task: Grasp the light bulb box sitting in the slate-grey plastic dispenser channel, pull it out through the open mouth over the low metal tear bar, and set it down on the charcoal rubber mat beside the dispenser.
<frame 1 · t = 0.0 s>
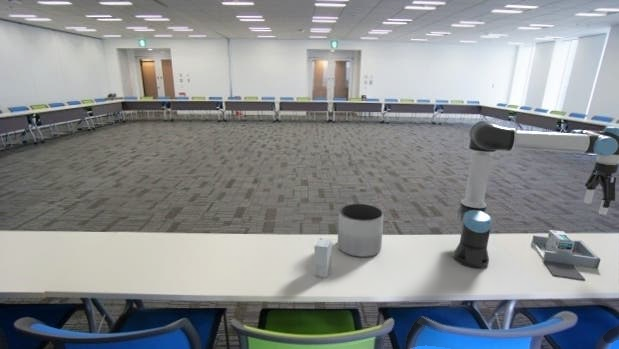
hand: (594, 208, 148), 28 cm above the table, fingers open, 13 cm apart
planter: (359, 248, 168), on the table
light bulb box: (556, 255, 163), resting in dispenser
skincare box: (322, 272, 147), on the table
mat: (563, 270, 149), on the table
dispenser: (561, 255, 162), on the table
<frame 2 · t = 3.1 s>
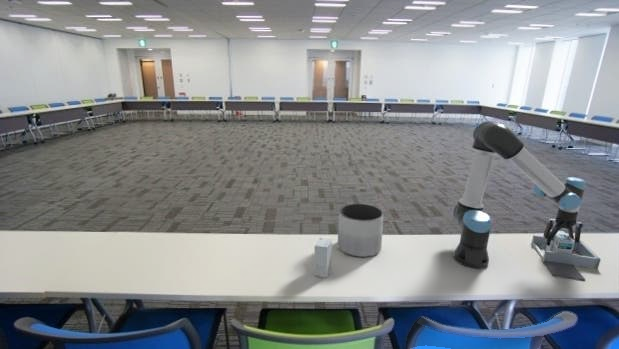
hand: (557, 252, 163), 1 cm above the table, fingers closed on light bulb box, 7 cm apart
light bulb box: (556, 254, 163), resting in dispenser, touching gripper
everything else where it was.
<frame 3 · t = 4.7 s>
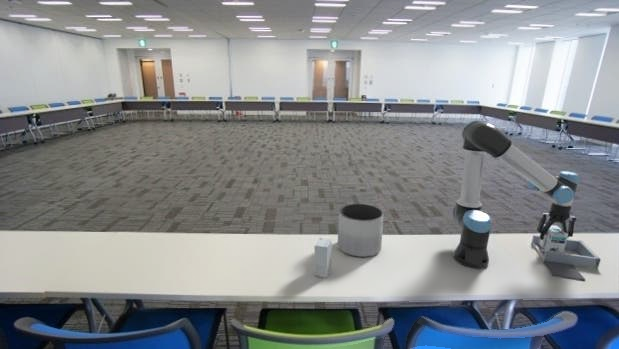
hand: (550, 246, 163), 4 cm above the table, fingers closed on light bulb box, 7 cm apart
light bulb box: (550, 249, 163), point 2 cm above the table, touching gripper
everything else where it was.
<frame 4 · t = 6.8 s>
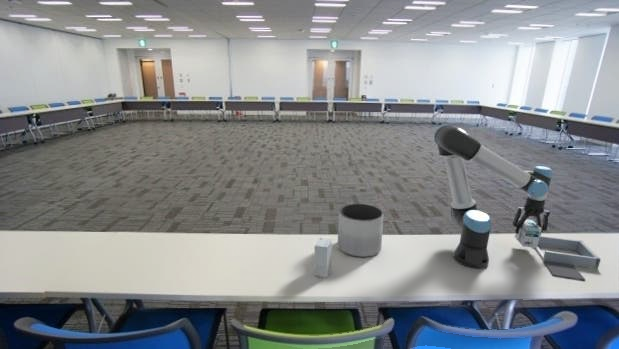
hand: (525, 240, 165), 5 cm above the table, fingers closed on light bulb box, 7 cm apart
light bulb box: (525, 242, 166), point 4 cm above the table, touching gripper
everything else where it was.
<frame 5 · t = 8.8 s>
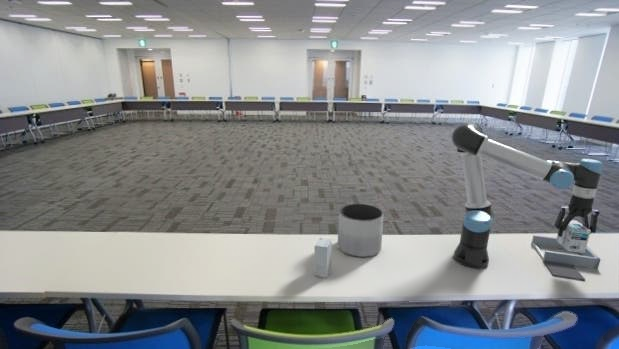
hand: (570, 244, 145), 14 cm above the table, fingers closed on light bulb box, 7 cm apart
light bulb box: (569, 246, 146), point 12 cm above the table, touching gripper
everything else where it was.
when the fingers open (3 cm above the table, at t = 10.6 s): light bulb box drops 1 cm, resting on mat.
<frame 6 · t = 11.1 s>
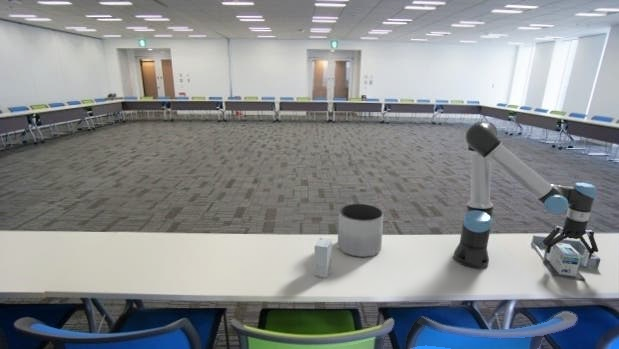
hand: (565, 261, 148), 5 cm above the table, fingers open, 13 cm apart
light bulb box: (561, 269, 149), resting on mat
everything else where it was.
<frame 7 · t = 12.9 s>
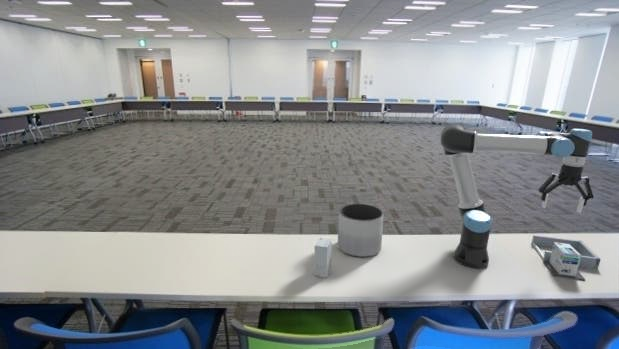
hand: (560, 209, 149), 27 cm above the table, fingers open, 13 cm apart
nothing on the table moved.
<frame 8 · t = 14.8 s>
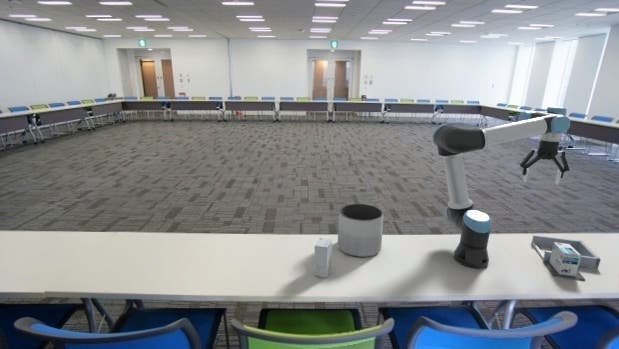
hand: (540, 182, 161), 35 cm above the table, fingers open, 13 cm apart
nothing on the table moved.
at the end: light bulb box inside the target area on the mat (0.6 cm from its centre), point 0.4 cm above the mat's base; light bulb box tilted 0°; the gripper is holding nothing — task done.
